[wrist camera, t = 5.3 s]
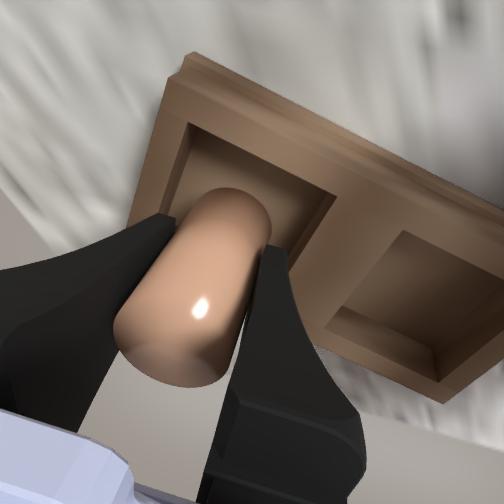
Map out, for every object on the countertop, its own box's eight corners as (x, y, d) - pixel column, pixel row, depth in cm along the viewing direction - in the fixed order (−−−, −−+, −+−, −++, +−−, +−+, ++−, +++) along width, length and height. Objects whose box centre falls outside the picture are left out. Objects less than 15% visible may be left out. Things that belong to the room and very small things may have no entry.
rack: (566, 242, 16) (604, 290, 14) (433, 358, 21) (444, 409, 18) (194, 51, 15) (162, 65, 12) (143, 218, 20) (112, 253, 17)
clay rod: (280, 200, 14) (240, 320, 9) (262, 268, 16) (221, 400, 11) (196, 177, 14) (112, 283, 9) (187, 247, 16) (113, 367, 11)
